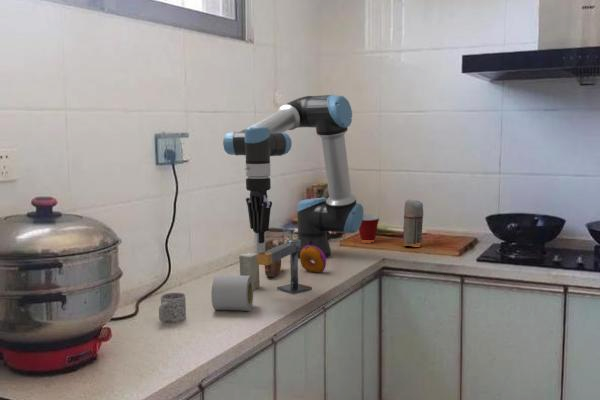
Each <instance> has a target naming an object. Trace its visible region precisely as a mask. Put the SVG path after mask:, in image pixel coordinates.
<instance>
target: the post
mask: <svg viewBox="0 0 600 400" xmlns="http://www.w3.org/2000/svg"><path fill="white" fill-rule="evenodd" d="M289 256H290V257H289V261H290V262H289V264H290V269H289V270H290V283H289V284H284V285H280V286H277V287H276V290H278V291H281V292H285V293H288V294H292V295H295V294H296V295H297V294H299V293H304V292H307V291H308V292H309V291H311V290H312V289H313V287H312V286H308V285H305V284H302V283H300V282H299V260H298V259H299V258H298V251H296V252H294V253H292V254H290V255H289Z"/></svg>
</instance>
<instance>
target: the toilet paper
mask: <svg viewBox="0 0 600 400" xmlns="http://www.w3.org/2000/svg"><path fill="white" fill-rule="evenodd" d="M254 290H255V289H254V288H253V279H252V277H251V276H240V275H236V274H235V275H232V274H231V275H229V274H227V275H226V274H224V275H223V274H216V275H215V276H214V277H213V280H212V284H211V293H210V294H211V305H212V308H213V309H214V310H215V311H219V310H220V311H224V310H225V311H245V312H246V311H247V312H248V311H249V312H250V311H251V310H252V306H253V303H254V293H255V292H254Z"/></svg>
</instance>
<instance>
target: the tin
mask: <svg viewBox="0 0 600 400" xmlns="http://www.w3.org/2000/svg"><path fill="white" fill-rule="evenodd" d="M281 267H282V258H281V259H279V260H277V261H275V262H273V263H272V264H270V265H264V273H265V276H266V277H267V278H275V277H277V275H278V274H279V273H280V272H281V269H282V268H281Z"/></svg>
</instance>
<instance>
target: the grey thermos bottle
mask: <svg viewBox="0 0 600 400" xmlns="http://www.w3.org/2000/svg"><path fill="white" fill-rule="evenodd" d="M423 206H424V204H423V202H422V201H420V200H415V199H414V200H413V199H406V200H405V202H404V210H403V212H404V213H403V232H402V233H403V235H402V236H403V237H402V243H403V242H404V243H407V244H416V243H421V242H422V241H423V221H424V207H423Z"/></svg>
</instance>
